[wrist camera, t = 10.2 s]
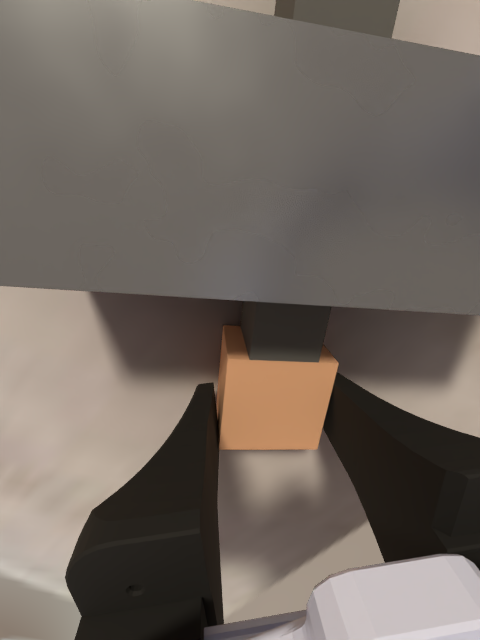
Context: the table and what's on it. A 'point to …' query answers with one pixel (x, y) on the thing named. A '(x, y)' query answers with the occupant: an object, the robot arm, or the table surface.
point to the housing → (235, 158)
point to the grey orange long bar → (287, 313)
